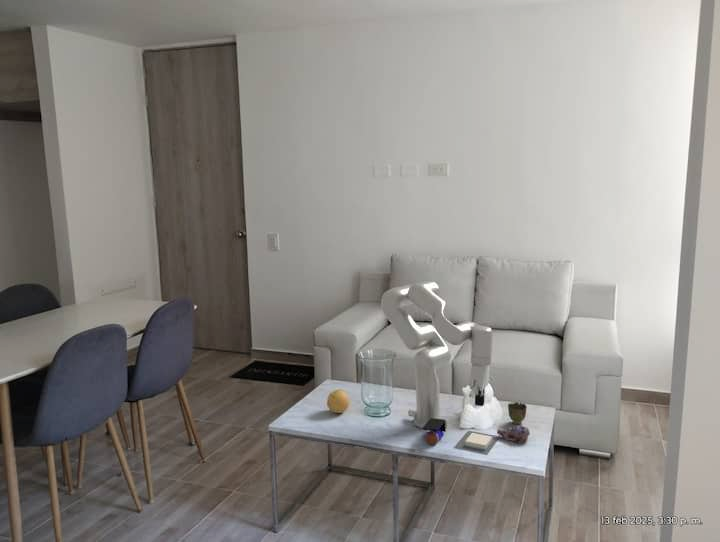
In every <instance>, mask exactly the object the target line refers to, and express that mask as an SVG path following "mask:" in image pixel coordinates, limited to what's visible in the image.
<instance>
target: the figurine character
mask: <svg viewBox="0 0 720 542" xmlns="http://www.w3.org/2000/svg"><path fill="white" fill-rule="evenodd" d="M447 428H448V421H447V420H446V419H444V418H442V419H434V418H430V419H429V421H428V422H427V423H426V424H425V425H424V427H423V428H421V429H422V430H424V431H426V434H425V438H424V439H425V442H426V444H427V445H429V446H434V445H436V444H437V443H439V439H441V438H442V437H444V434H445V433H446V430H447Z"/></svg>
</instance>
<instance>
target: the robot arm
mask: <svg viewBox="0 0 720 542" xmlns="http://www.w3.org/2000/svg"><path fill="white" fill-rule="evenodd" d="M440 294H441V292H440V288H439V285H438V284H437V283H436V282H434V281H431V280H426V281H425V280H424V281H422V282H418V283H417V282H416V283H411V284H406V285H403V286H402V285H401V286H395V287H393V288H391V289H388V290H387V291H385V292H384V293H383V294H382V297H381V299H380V304H381V305H380V306H381V307H380V308H381V310H382V312H383V315H384V316H385V318H386V319H387V320H388V321H389V322H390V324H391V325H392V326H393V328H394V330H395V331H396V333H397V335H398V336H399V338H400V339H401V341H402V342H403V345H404V346H405V347H406V348H407V350H409V351H417V350H420V349H422V350H420V351H418V352H417V353H416V354H415V355H414V356H413V360H412V361H413V362H412V363H413V370H414V375H415V387H416V388H415V393H416V397H415V399H416V403H415V405H416V407H415V408H416V409H415V410H414V409H408V412H407V413H408V417H413V420H412V423H413V425H414V426H415V427H417V428H420V429H422V428H423V427H424V425H425V424H426V423H427V422H428V421H429V419H430V418H434V419H443V418H442V417H440V415H441V410H440V380H439V377H438V375H437V371H438V370H439V369H442V368H445V367H447V366H448V365H449V364H450V363H451V360H452V354H451V351H450V349H449V348H448V346H447V344H446V343H448V344H450V345H452V346H460V345H464V344H466V343H470V342H471V346H470V347H471V350H470V353H471V354H470V363H471V368H470V377H469V389H470V390H474V392H473V394H474V405H475V406H479V407H483V406H484V405H485V397H486V396H485V394H486V387H487V386H488V385H489V384H490V383H489V382H490V366H491V365H492V357H493V356H492V355H493V353H492V352H493V351H492V349H493V328H491V327H489V326H485V325H480V324H478V323H476V322H473V321H468V320H467V321H464V322H461V323H458V324H453V323H452V322H451V321H449V320H448V319H447V318H446V316H445V315H444V314H445V312H446V310H447V309H448V308H447V307H448V305H447V302H446V301H445V300H444V299H442V298H441V297H440ZM410 305H415V307H417V308H418V309H420V310H421V311H422V312H423V313H425V314H426V315H427V316H428V317H429V318H430V319H431V322H432V325H431V324H429V323H422V324H417V323H416V322H415V320H414V319H413V317H412V316H411V315H410V314H409V313H408V312H407V311H406V310H404V309H403V308H402V307H406V306H410ZM444 340H445V341H446V342H445V341H444ZM423 348H424V349H423ZM473 388H474V389H473Z"/></svg>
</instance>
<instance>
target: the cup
mask: <svg viewBox="0 0 720 542" xmlns="http://www.w3.org/2000/svg"><path fill="white" fill-rule="evenodd" d="M507 409H508V416H509V418H510V420H511V421H512V424H514V425H515V426H521V424H522V423H523V422H522V421H524V420H525V418H526V416H527V414H526V413H527V405H526V404H525V403H522V402H519V401H517V402H511V403H508V404H507Z"/></svg>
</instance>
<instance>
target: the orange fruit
mask: <svg viewBox="0 0 720 542" xmlns="http://www.w3.org/2000/svg"><path fill="white" fill-rule="evenodd" d="M350 403H351V401H350V397H349V395H348V394H347V392H346V391H344V390H342V389H336V390H333V391H332V392H330V393H329V395H328V397H327V400H326V405H327V408H328V410H329V411H330V412H332V413H335V414H341V413H344V412H346V410H348V408H349V406H350Z"/></svg>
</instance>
